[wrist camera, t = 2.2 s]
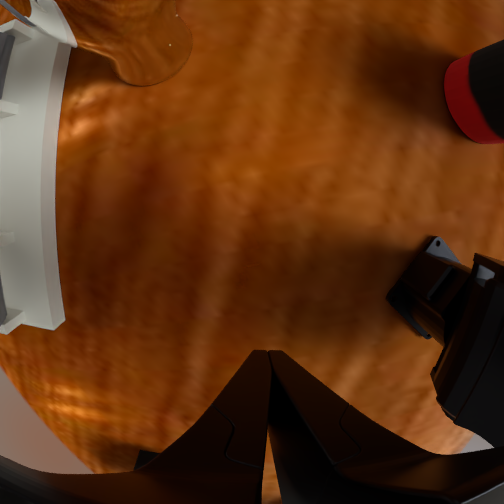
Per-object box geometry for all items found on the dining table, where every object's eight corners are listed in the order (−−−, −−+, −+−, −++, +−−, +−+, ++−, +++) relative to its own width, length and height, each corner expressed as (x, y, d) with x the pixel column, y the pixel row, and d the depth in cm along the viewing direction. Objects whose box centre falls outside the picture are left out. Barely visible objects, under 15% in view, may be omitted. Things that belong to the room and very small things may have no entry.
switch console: (76, 26, 17) (47, 2, 12) (65, 320, 22) (36, 346, 17) (7, 47, 16) (-24, 34, 12) (1, 307, 22) (-30, 327, 17)
